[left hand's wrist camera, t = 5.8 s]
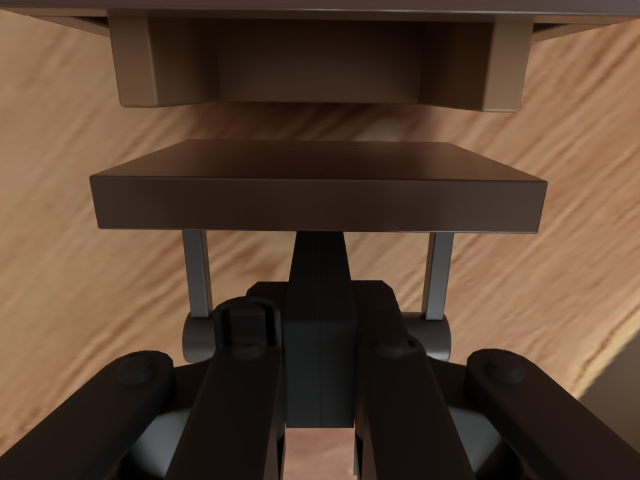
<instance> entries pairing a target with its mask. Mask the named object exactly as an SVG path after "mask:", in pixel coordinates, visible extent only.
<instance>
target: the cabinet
mask: <svg viewBox="0 0 640 480" xmlns="http://www.w3.org/2000/svg"><path fill="white" fill-rule="evenodd" d="M0 9H2V10H6V11H10V12H14V13H18V14H21V15H28V16H31V17H34V18H38V19H42V20H45V21H49V22H53V23H57V24H61V25H65V26H68V27H72V28H76V29H80V30H84V31H87V32H91V33H95V34H99V35H103V36H107V37H110V32H109V25H108V18H107V17H172V18H240V19H308V20H375V21H443V22H510V23H534V26H533V32H532V38H531V43H534V42H539V41H543V40H547V39H552V38H556V37H561V36H565V35H569V34H574V33H578V32H582V31H587V30H591V29H596V28H600V27H604V26H609V25H612V24H618V23H622V22H626V21H631V20H635V19H640V0H0Z"/></svg>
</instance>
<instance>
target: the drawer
mask: <svg viewBox="0 0 640 480" xmlns="http://www.w3.org/2000/svg"><path fill="white" fill-rule="evenodd" d="M107 18H108V25H109V32H110V38H111V45H112V52H113V59H114V66H115V73H116V80H117V86H118V93H119V100H120V104H121V106H123V107H135V108H158V107H169V106H179V105H189V104H199V103H210V102H286V103H362V104H422V105H430V106H438V107H446V108H455V109H463V110H471V111H479V112H517V111H519V108H520V102H521V96H522V91H523V85H524V79H525V73H526V67H527V61H528V55H529V49H530V44H531V38H532V32H533V26H534V23H510V22H443V21H375V20H308V19H240V18H172V17H107ZM89 179H90V185H91V190H92V196H93V201H94V207H95V212H96V218H97V224H98V228H99V229H139V230H182V234H183V244H184V253H185V262H186V271H187V281H188V290H189V299H190V309H191V311H190V312H189V314H188V316H187V318H186V321H185V324H184V329H183V337H182V348H183V355H184V358H185V360H186V361H187V362H188V363H197V362H201V361H204V360H207V359H209V358H211V357H213V354H214V352H215V349H216V344H215V334H214V324H213V315H212V311H213V310H212V309H213V305H212V294H211V282H210V270H209V259H208V247H207V236H206V230H233V231H327V232H421V233H430V236H429V245H428V254H427V263H426V272H425V281H424V291H423V300H422V309H421V311H422V312H401V314H402V317H403V319H404V322H405V325H406V328H407V330H408V333H409V334H410V335H412V336H413V337H415V338H416V339H418V340H419V341H420V343H421V344H422V345H423V347H424V348H425V351H426V353H427V355H428V356H431V357H433V358H435V359H438V360H442V361H445V362H448V361H449V358H450V353H451V333H450V327H449V323H448V320H447V318H446V316H445V315H444V307H445V299H446V291H447V284H448V276H449V269H450V261H451V253H452V246H453V238H454V233H515V234H536V233H537V232H538V229H539V224H540V219H541V214H542V209H543V204H544V199H545V195H546V190H547V185H548V183H547V181H545V180H543V179H540V178H538V177H535V176H532V175H530V174H527V173H525V172H522V171H520V170H517V169H514V168H512V167H509V166H507V165H504V164H502V163H499V162H497V161H494V160H491V159H489V158H486V157H484V156H481V155H479V154H476V153H473V152H471V151H468V150H466V149H463V148H461V147H458V146H456V145H453V144H450V143H447V142H367V141H286V140H206V139H189V140H186V141H184V142H181V143H178V144H175V145H173V146H170V147H167V148H164V149H162V150H159V151H156V152H154V153H151V154H148V155H145V156H143V157H140V158H137V159H135V160H132V161H129V162H126V163H124V164H121V165H118V166H116V167H113V168H110V169H107V170H105V171H102V172H99V173H97V174H94V175H91V176H90V178H89Z"/></svg>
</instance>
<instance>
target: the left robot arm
mask: <svg viewBox="0 0 640 480" xmlns="http://www.w3.org/2000/svg"><path fill="white" fill-rule="evenodd" d="M212 315H213V324H214V334H215V344H216V349H215V352H214V354H213V357H211V358H209V359H207V360H204V361H201V362H197V363H194V364H189V365H184V366H179V367H174V366H173V360H172V359H171V358H170V357H169V356H168V355H167V354H165V353H162V352H159V351H146V350H144V351H138V352H133V353H129V354H127V355H125V356H122V357H120V358H117V359H115V360H114V361H112V362H111V363H109V364H108V365H106V366H105V367H104V368H103V369H101V370H100V371H99V372H98V373H97V374H96V375H95V376H93V377H92V378H91V379H90V380H89V381H88V382H86V383H85V384H84V385H83V386H82V387H81V388H79V389H78V390H77V391H76V392H75V393H74V394H73V395H71V396H70V397H69V398H68V399H67V400H66V401H64V402H63V403H62V404H61V405H60V406H59V407H58V408H56V409H55V410H54V411H53V412H52V413H51V414H49V415H48V416H47V417H46V418H45V419H44V420H42V421H41V422H40V423H39V424H38V425H37V426H36V427H34V428H33V429H32V430H31V431H30V432H29V433H27V434H26V435H25V436H24V437H23V438H22V439H20V440H19V441H18V442H17V443H16V444H15V445H14V446H12V447H11V448H10V449H9V450H8V451H7V452H5V453H4V454H3V455H2V456H1V457H0V480H283V470H284V459H285V448H286V447H285V423H286V428H354V421H355V447H354V474H353V475H357V480H640V454H639V453H638V452H637V451H636V450H635V449H633V448H632V447H631V446H630V445H629V444H627V443H626V442H625V441H624V440H623V439H622V438H621V437H619V436H618V435H617V434H616V433H615V432H614V431H612V430H611V429H610V428H609V427H608V426H607V425H605V424H604V423H603V422H602V421H601V420H600V419H598V418H597V417H596V416H595V415H594V414H593V413H591V412H590V411H589V410H588V409H587V408H586V407H584V406H583V405H582V404H581V403H580V402H579V401H577V400H576V399H575V398H574V397H573V396H572V395H570V394H569V393H568V392H567V391H566V390H565V389H563V388H562V387H561V386H560V385H559V384H558V383H556V382H555V381H554V380H553V379H552V378H551V377H549V376H548V375H547V374H546V373H545V372H544V371H542V370H541V369H540V368H539V367H538V366H537V365H535V364H534V363H532V362H531V361H529V360H528V359H526V358H525V357H523V356H521V355H518V354H515V353H513V352H511V351H507V350H502V349H481V350H478V351H475V352H473V353H472V354H471V355H470V356H469V357H468V359H467V365H466V366H465V365H460V364H455V363H450V362H445V361H442V360H438V359H435V358H433V357H431V356H428V355H427V353H426V351H425V348H424V347H423V345H422V344H421V343H420V341H419V340H418V339H416V338H415V337H413V336H412V335H410V334H409V333H408V330H407V328H406V325H405V322H404V319H403V317H402V314H401V311H400V309H399V306H398V303H397V300H396V297H395V295H394V292H393V289H392V288H391V287H390V286H388V285H387V284H386V283H385V282H383V281H382V280H351V277H350V271H349V265H348V259H347V252H346V246H345V240H344V234H343V232H327V231H297V234H296V240H295V246H294V252H293V258H292V264H291V270H290V277H289V282H257V283H256V284H254V285H253V286H252V287H251V288H250V289H248V291H247V293H246V296H243V297H237V298H233V299H230V300H227V301H225V302H223V303H221V304H219V305H218V306H217V307H216V308H215V309H214V310H213V311H212Z"/></svg>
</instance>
